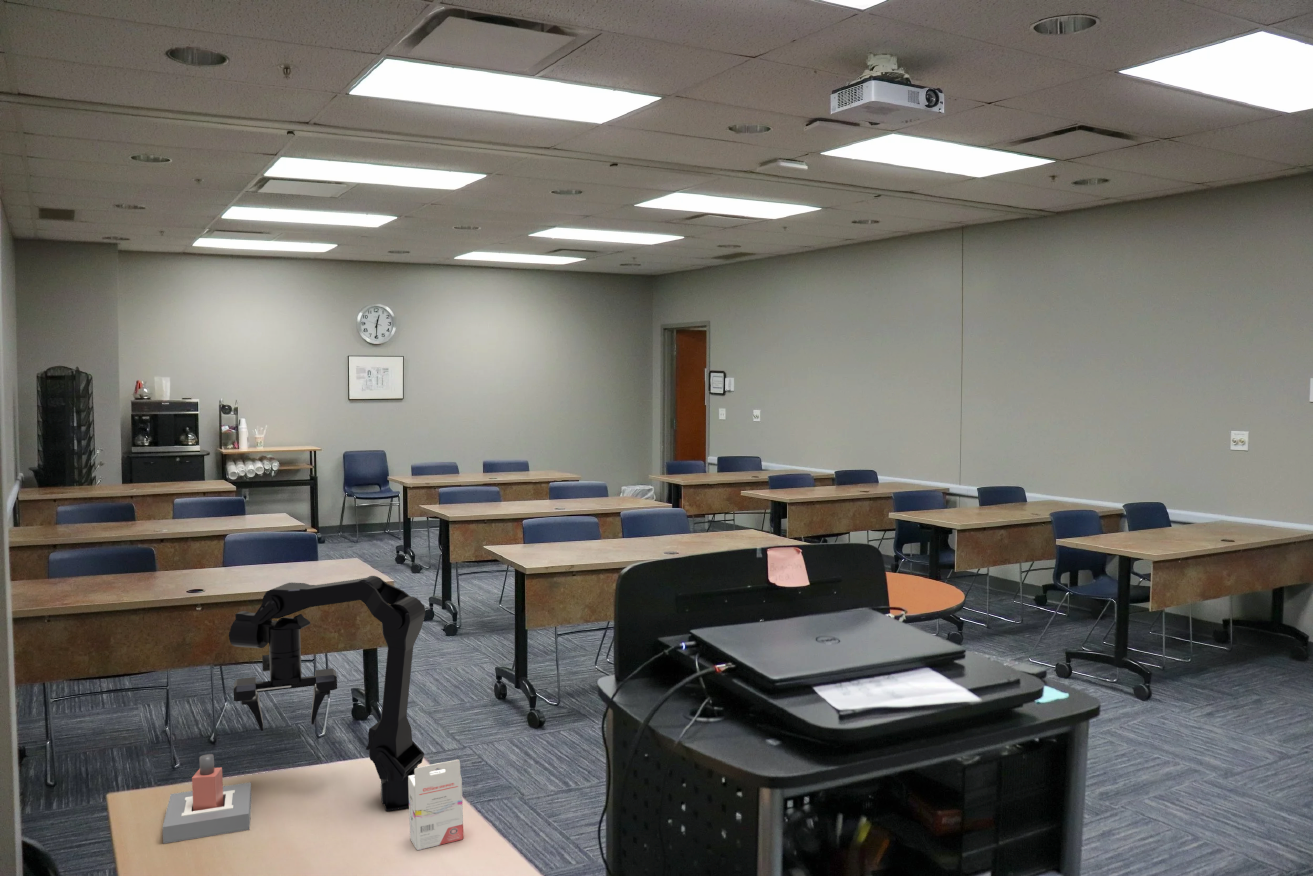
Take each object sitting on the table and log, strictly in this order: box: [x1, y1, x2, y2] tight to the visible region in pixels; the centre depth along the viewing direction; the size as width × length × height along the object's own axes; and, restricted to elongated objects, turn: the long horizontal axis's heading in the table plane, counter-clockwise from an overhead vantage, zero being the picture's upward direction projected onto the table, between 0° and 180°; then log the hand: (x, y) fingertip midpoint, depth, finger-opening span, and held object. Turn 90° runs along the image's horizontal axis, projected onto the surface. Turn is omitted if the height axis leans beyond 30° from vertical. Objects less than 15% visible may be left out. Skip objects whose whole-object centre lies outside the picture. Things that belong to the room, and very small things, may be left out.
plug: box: [191, 753, 224, 811], centre depth 179 cm, size 4×4×12 cm
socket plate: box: [162, 782, 252, 845], centre depth 179 cm, size 14×14×3 cm
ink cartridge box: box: [408, 759, 464, 851], centre depth 171 cm, size 9×5×15 cm, turn 118°
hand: (287, 727), depth 190 cm, fingers open, 9 cm apart
